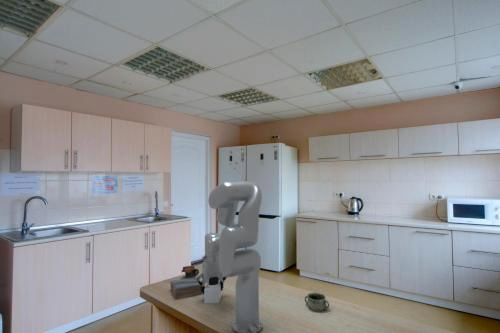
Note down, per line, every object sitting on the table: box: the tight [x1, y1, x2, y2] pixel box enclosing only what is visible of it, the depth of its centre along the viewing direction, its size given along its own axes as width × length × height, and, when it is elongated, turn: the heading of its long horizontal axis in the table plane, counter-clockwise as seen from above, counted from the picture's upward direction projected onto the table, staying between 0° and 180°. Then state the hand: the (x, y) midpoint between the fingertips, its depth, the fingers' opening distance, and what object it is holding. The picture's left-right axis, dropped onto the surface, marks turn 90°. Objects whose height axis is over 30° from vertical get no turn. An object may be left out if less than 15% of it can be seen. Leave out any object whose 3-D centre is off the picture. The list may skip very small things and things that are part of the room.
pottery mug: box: [181, 265, 200, 279], centre depth 175 cm, size 12×9×8 cm
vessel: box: [304, 292, 330, 313], centre depth 133 cm, size 12×9×6 cm
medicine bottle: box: [203, 277, 222, 304], centre depth 143 cm, size 7×7×12 cm
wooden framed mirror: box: [170, 277, 203, 300], centre depth 154 cm, size 14×14×5 cm
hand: (212, 291), depth 145 cm, fingers closed on medicine bottle, 9 cm apart
